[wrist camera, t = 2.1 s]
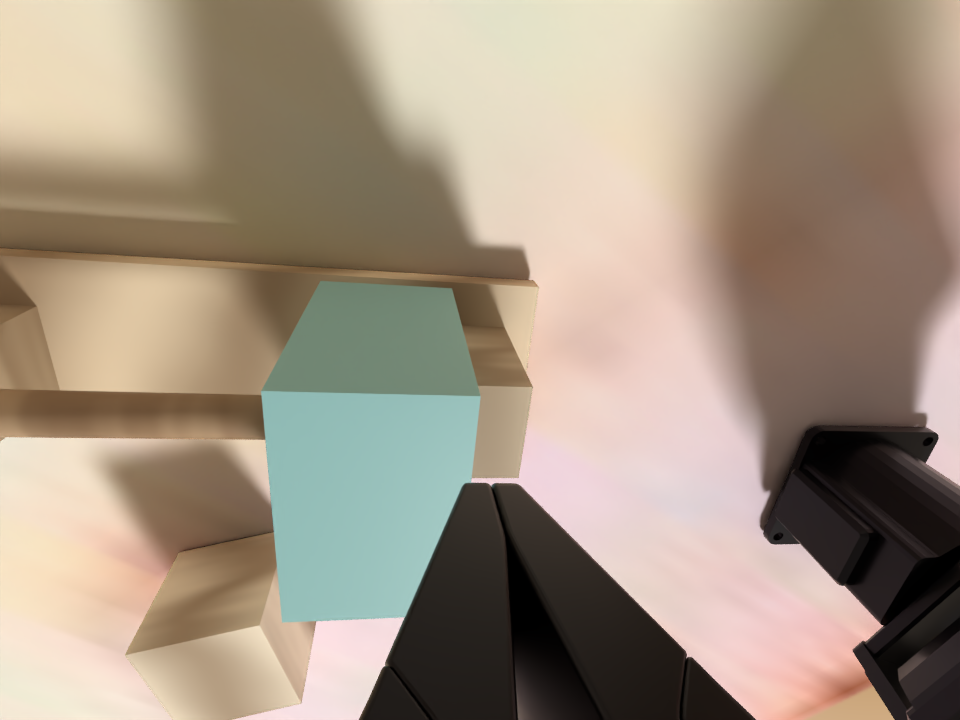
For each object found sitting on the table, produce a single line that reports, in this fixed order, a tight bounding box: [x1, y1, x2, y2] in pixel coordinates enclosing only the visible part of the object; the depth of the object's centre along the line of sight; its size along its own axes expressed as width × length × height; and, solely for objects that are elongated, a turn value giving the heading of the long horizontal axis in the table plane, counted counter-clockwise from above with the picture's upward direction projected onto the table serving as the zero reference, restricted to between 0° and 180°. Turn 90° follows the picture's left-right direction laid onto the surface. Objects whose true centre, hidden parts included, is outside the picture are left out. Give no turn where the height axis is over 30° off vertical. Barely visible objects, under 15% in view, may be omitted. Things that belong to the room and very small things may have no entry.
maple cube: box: [125, 532, 316, 720], centre depth 20 cm, size 4×4×4 cm
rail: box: [0, 248, 539, 478], centre depth 15 cm, size 18×6×5 cm, turn 84°
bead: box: [261, 281, 481, 623], centre depth 14 cm, size 4×6×7 cm, turn 174°
